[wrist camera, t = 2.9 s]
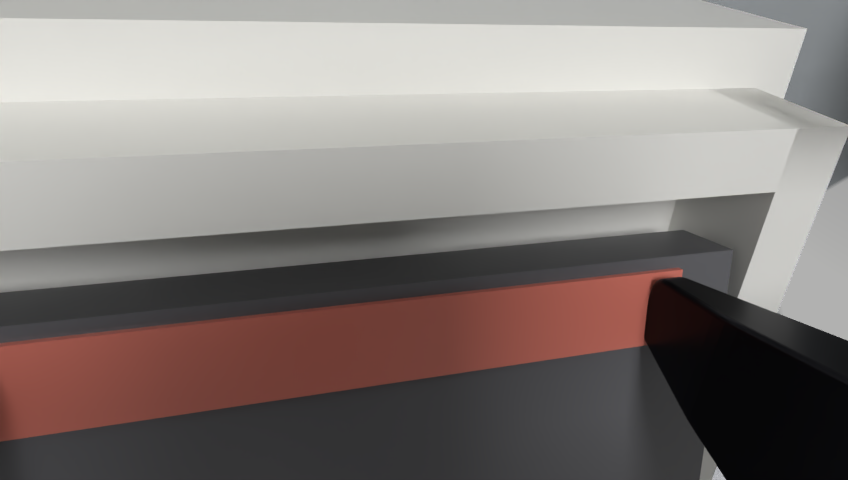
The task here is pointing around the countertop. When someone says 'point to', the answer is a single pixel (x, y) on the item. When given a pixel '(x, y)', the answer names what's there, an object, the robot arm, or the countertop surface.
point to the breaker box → (396, 134)
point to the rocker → (357, 369)
